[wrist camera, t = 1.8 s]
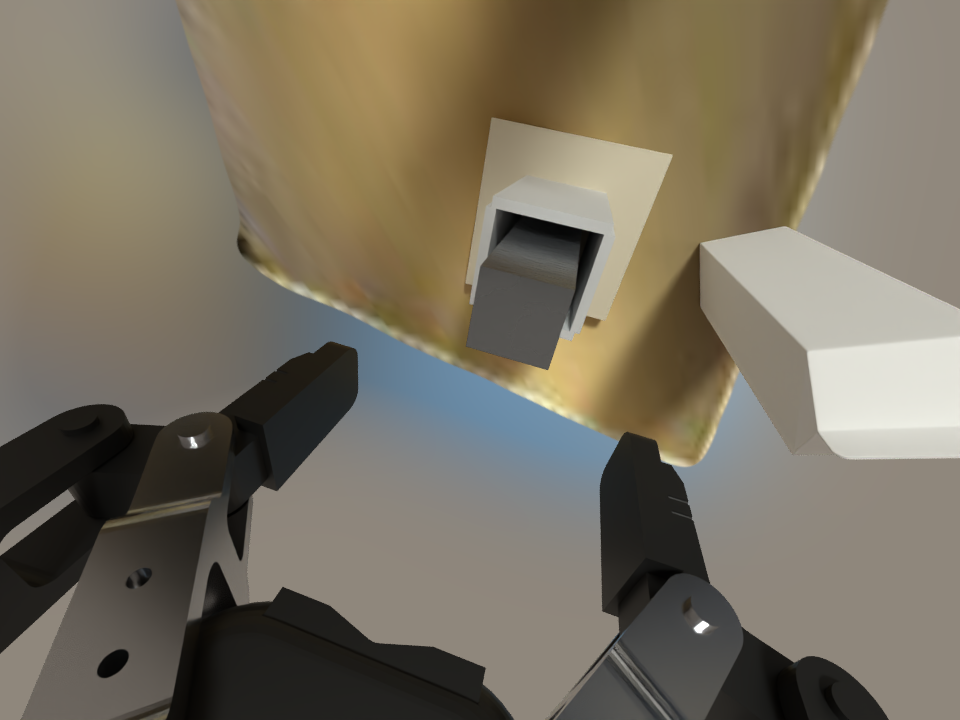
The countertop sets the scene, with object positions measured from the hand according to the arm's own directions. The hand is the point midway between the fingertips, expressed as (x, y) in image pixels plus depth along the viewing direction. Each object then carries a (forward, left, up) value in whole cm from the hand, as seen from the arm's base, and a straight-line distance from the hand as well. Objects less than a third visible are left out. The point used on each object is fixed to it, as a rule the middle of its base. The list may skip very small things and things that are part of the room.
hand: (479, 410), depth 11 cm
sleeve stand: (0, 0, -27) cm, 27 cm away
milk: (0, +16, -27) cm, 32 cm away
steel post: (0, 0, -25) cm, 25 cm away
